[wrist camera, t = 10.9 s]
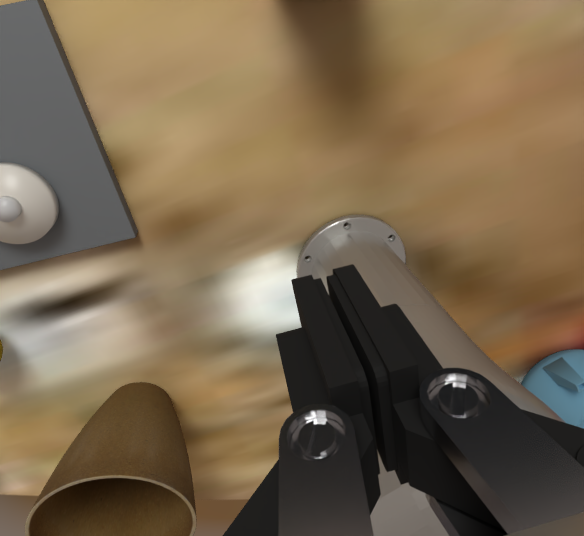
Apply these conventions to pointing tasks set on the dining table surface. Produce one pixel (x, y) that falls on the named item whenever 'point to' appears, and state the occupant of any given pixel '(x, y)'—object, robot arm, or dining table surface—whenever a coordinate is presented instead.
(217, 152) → the dining table surface
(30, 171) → the white lever handle
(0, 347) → the lemon
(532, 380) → the teapot
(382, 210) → the dining table surface
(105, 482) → the plant pot
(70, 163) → the stand board
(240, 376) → the dining table surface
